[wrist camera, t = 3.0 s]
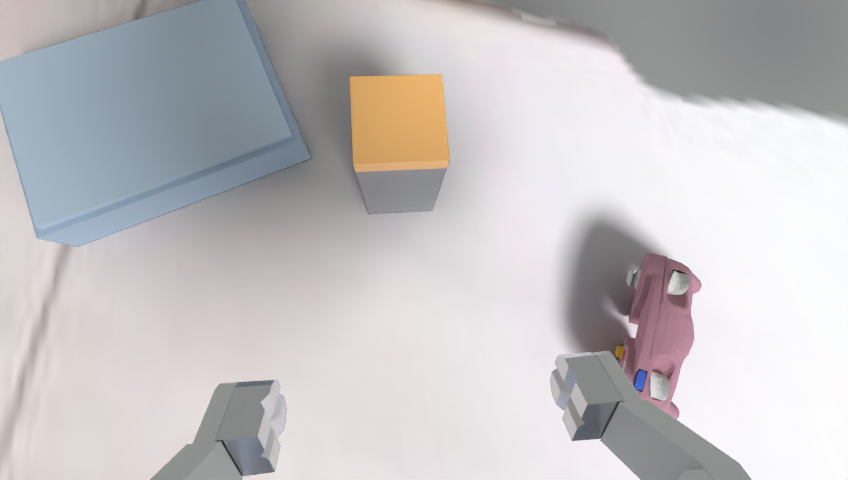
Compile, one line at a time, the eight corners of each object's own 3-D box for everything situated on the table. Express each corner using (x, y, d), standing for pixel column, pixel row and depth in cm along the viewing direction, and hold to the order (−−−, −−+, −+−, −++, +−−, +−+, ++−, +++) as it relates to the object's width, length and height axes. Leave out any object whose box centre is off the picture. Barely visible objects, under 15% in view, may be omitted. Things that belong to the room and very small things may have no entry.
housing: (432, 210, 26) (449, 160, 17) (368, 214, 26) (353, 164, 17) (427, 151, 27) (441, 74, 18) (365, 153, 27) (349, 76, 18)
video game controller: (625, 266, 28) (638, 236, 22) (697, 281, 26) (734, 253, 20) (596, 397, 26) (601, 406, 20) (671, 425, 24) (703, 443, 18)
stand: (78, 246, 24) (30, 237, 21) (31, 91, 26) (-20, 61, 23) (311, 158, 26) (299, 137, 23) (253, 20, 28) (235, -16, 25)
